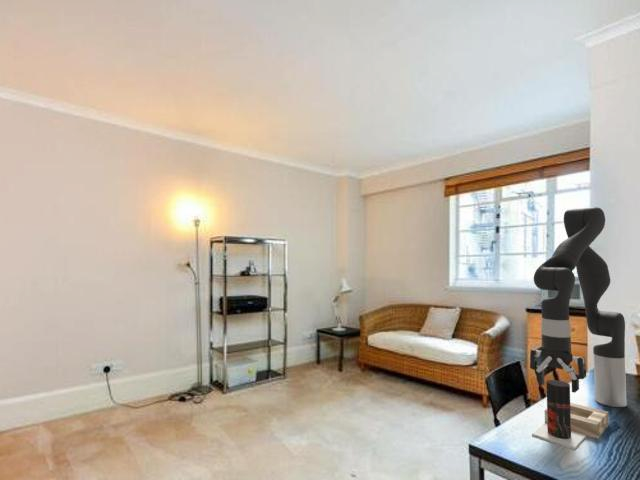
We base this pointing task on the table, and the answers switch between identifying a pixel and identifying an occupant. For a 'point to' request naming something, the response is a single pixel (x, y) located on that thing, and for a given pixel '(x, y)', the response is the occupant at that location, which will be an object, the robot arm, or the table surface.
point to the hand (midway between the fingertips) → (557, 388)
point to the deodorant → (558, 409)
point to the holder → (587, 420)
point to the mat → (570, 443)
